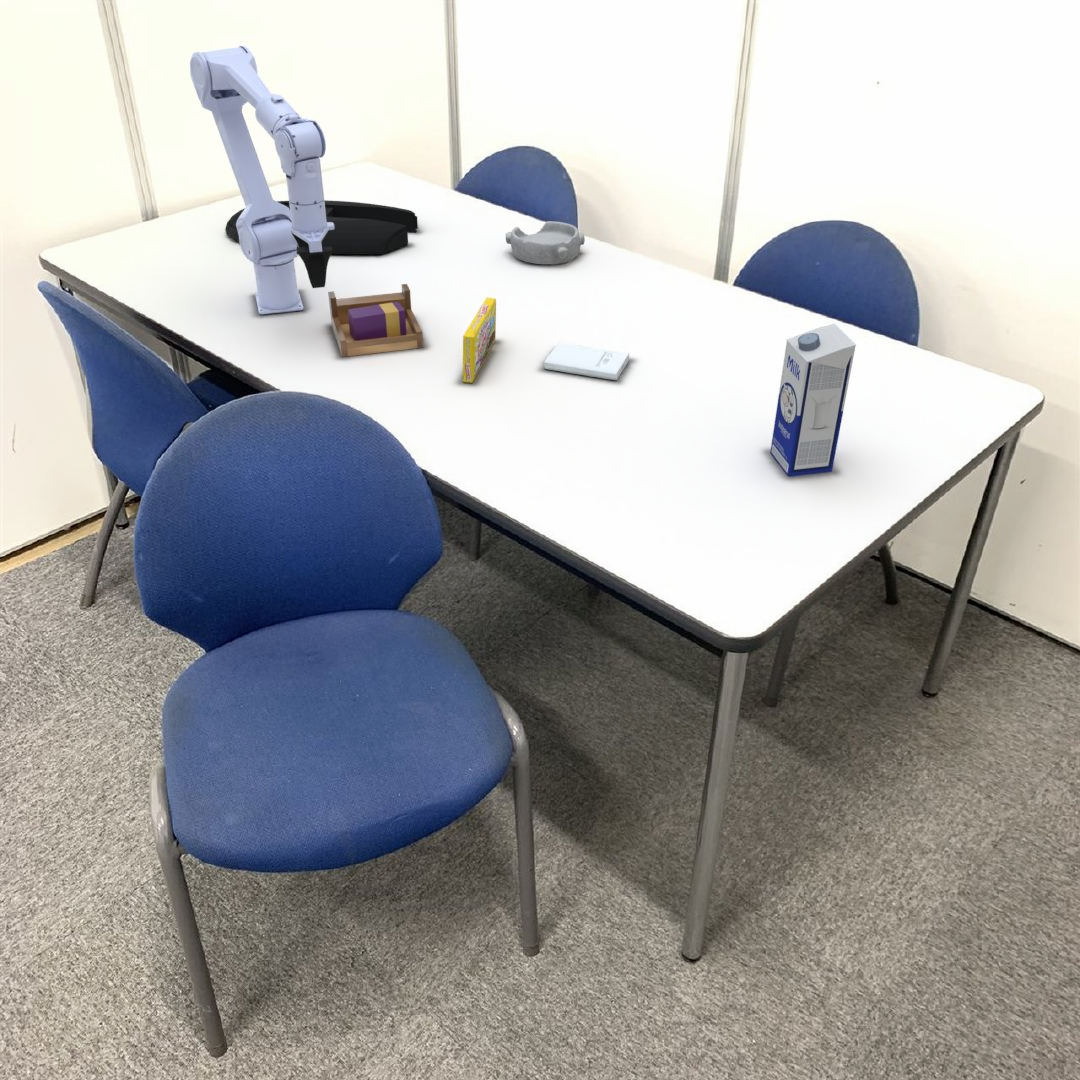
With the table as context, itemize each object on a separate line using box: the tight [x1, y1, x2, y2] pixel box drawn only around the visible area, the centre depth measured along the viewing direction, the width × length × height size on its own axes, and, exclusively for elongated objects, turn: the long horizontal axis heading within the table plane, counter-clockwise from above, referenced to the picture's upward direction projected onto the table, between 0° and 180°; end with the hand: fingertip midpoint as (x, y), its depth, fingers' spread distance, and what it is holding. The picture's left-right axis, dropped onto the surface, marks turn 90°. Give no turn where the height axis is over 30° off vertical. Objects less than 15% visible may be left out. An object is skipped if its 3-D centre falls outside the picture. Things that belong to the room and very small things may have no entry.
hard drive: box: [543, 342, 630, 381], centre depth 184 cm, size 2×8×12 cm
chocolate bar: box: [348, 302, 407, 341], centre depth 189 cm, size 4×9×4 cm, turn 113°
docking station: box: [224, 199, 419, 255], centre depth 233 cm, size 25×41×5 cm, turn 82°
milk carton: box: [770, 323, 857, 477], centre depth 153 cm, size 7×7×20 cm
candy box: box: [462, 297, 497, 384], centre depth 183 cm, size 16×2×8 cm, turn 169°
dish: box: [505, 220, 586, 265], centre depth 224 cm, size 14×14×5 cm
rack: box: [327, 283, 424, 358], centre depth 191 cm, size 13×14×6 cm
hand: (315, 278), depth 188 cm, fingers open, 7 cm apart
